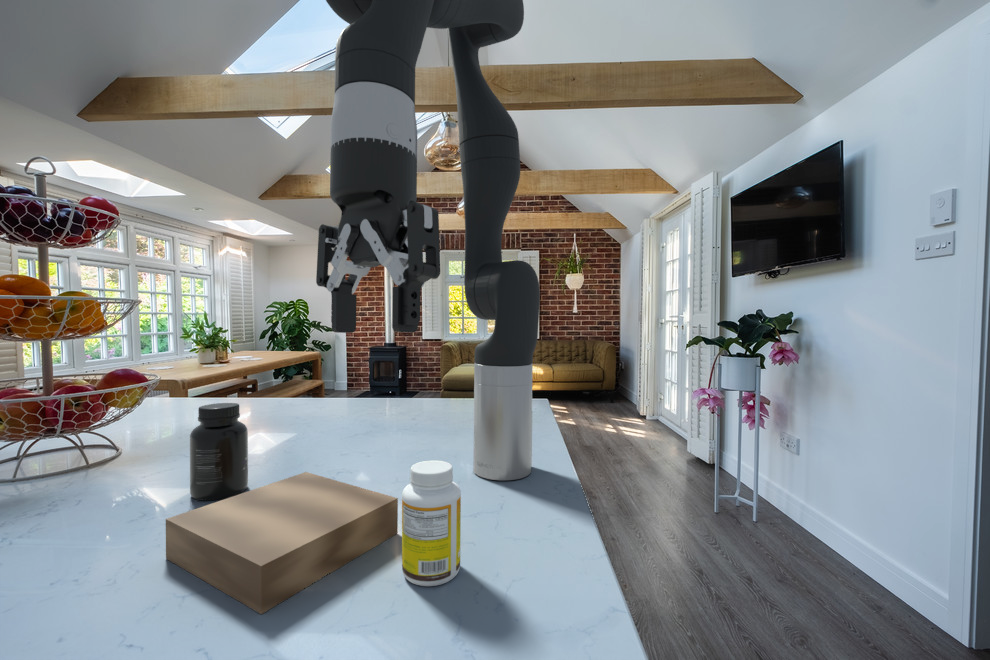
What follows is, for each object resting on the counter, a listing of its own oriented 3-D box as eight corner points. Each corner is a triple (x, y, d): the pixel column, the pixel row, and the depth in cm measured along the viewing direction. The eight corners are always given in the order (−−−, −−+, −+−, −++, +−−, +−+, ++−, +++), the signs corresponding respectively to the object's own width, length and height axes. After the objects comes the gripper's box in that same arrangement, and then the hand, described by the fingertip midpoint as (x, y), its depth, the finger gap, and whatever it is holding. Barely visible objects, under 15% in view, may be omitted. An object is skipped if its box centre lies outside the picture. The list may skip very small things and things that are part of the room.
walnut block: (306, 502, 58) (305, 471, 58) (397, 533, 50) (397, 498, 50) (165, 558, 44) (165, 519, 44) (261, 614, 36) (261, 566, 36)
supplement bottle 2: (433, 550, 46) (434, 453, 46) (472, 570, 43) (473, 465, 42) (389, 573, 42) (389, 467, 42) (428, 598, 38) (429, 481, 38)
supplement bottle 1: (259, 487, 63) (258, 403, 62) (210, 505, 57) (210, 412, 56) (227, 479, 66) (227, 399, 65) (178, 496, 59) (177, 407, 59)
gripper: (462, 148, 39) (460, 333, 38) (360, 181, 47) (358, 333, 47) (395, 112, 33) (392, 331, 32) (292, 157, 41) (289, 332, 41)
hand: (372, 332), depth 40 cm, fingers open, 8 cm apart
